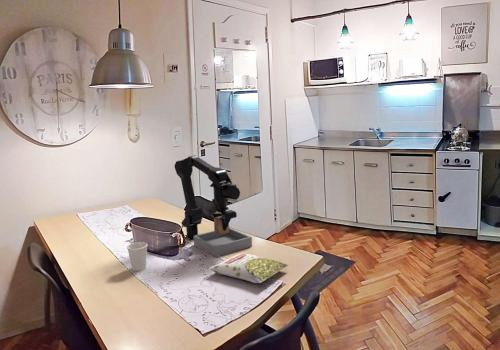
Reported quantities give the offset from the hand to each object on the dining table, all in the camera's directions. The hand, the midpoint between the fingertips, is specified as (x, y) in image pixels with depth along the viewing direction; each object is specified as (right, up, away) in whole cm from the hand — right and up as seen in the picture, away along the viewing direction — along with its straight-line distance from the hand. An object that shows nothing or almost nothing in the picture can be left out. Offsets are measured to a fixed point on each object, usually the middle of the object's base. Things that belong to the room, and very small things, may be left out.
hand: (221, 229), depth 196 cm
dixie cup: (-33, -14, -22) cm, 42 cm away
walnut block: (0, -2, 0) cm, 2 cm away
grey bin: (0, -8, +1) cm, 8 cm away
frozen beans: (+13, -14, -31) cm, 36 cm away
